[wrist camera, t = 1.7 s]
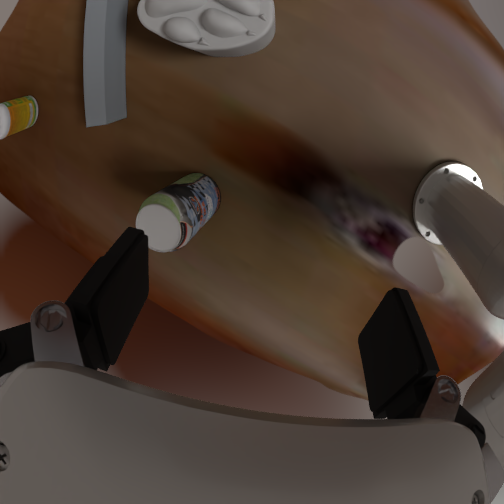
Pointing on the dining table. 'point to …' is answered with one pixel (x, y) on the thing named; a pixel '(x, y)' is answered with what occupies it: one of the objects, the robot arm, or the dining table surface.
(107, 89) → the grey long bar
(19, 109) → the supplement bottle
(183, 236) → the beverage can
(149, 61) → the dining table surface
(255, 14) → the lumpy-topped squat cylinder
